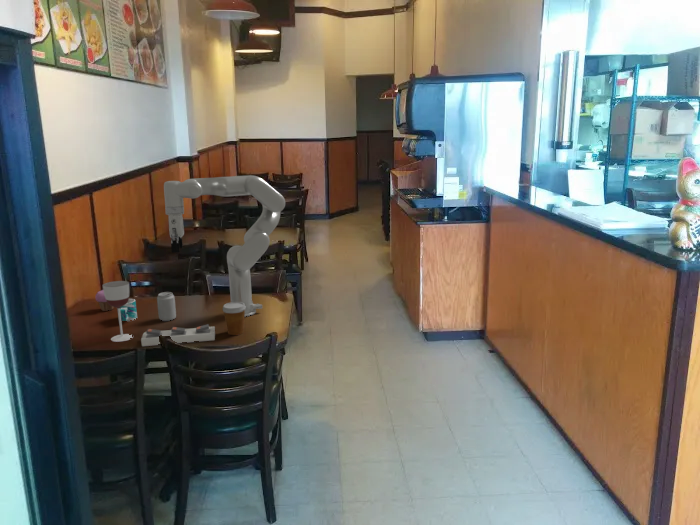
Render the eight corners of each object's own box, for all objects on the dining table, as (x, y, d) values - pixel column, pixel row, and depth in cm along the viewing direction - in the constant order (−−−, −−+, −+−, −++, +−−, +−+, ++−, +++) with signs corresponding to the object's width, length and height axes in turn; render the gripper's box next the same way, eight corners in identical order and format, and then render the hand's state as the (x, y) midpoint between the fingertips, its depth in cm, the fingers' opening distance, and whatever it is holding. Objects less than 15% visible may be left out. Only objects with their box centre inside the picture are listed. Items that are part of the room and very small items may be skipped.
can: (171, 322, 254) (168, 296, 251) (155, 321, 255) (153, 295, 252) (179, 316, 261) (177, 291, 258) (164, 315, 262) (161, 290, 259)
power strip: (215, 333, 239) (214, 326, 238) (214, 340, 231) (213, 332, 231) (144, 339, 234) (144, 332, 233) (141, 346, 226) (141, 339, 225)
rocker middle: (184, 330, 233) (185, 328, 232) (184, 333, 230) (184, 330, 229) (172, 329, 232) (172, 326, 231) (171, 331, 228) (171, 329, 228)
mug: (139, 315, 264) (137, 298, 262) (133, 324, 252) (131, 306, 250) (120, 316, 263) (118, 299, 261) (113, 325, 251) (111, 307, 249)
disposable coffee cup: (226, 337, 233) (224, 309, 231) (222, 330, 242) (220, 303, 239) (249, 334, 237) (248, 306, 234) (244, 327, 246) (242, 300, 243)
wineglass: (113, 334, 240) (106, 281, 234) (137, 333, 241) (131, 280, 235) (106, 342, 231) (99, 287, 226) (131, 341, 232) (125, 286, 226)
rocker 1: (160, 332, 231) (160, 330, 231) (159, 335, 228) (159, 332, 228) (147, 331, 230) (147, 328, 230) (146, 333, 227) (146, 331, 227)
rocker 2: (209, 326, 234) (208, 323, 234) (208, 328, 231) (208, 326, 231) (197, 329, 234) (196, 327, 233) (196, 332, 231) (195, 329, 230)
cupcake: (118, 310, 271) (116, 290, 269) (99, 314, 266) (96, 293, 264) (114, 305, 278) (112, 286, 276) (95, 309, 274) (92, 289, 271)
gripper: (181, 213, 235) (183, 254, 239) (186, 207, 251) (188, 245, 255) (162, 213, 234) (165, 254, 237) (168, 207, 250) (171, 246, 254)
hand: (177, 249), depth 246 cm, fingers open, 9 cm apart
